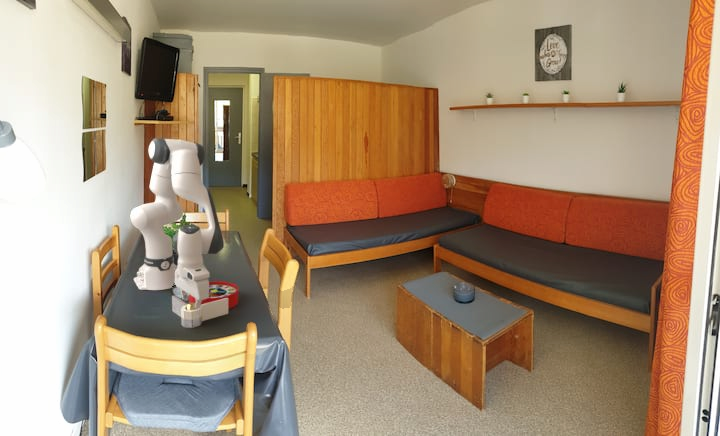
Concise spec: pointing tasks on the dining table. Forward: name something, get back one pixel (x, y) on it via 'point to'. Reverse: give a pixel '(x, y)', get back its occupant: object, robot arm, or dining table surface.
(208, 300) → the toy clock
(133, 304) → the dining table surface
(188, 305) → the hinge pin
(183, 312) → the hinge leaf
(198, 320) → the hinge leaf
